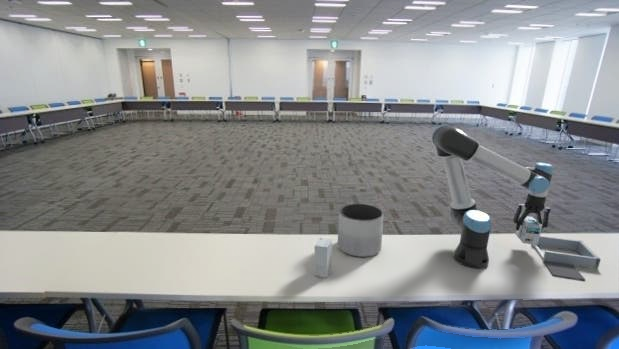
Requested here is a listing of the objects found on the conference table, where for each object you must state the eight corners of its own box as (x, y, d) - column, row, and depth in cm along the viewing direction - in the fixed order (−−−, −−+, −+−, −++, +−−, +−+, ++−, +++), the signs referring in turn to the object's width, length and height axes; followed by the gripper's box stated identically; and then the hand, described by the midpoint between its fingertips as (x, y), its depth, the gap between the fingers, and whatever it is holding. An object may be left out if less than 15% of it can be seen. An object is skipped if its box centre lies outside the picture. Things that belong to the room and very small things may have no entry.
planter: (373, 236, 180) (375, 202, 174) (387, 257, 159) (390, 219, 153) (333, 238, 177) (334, 204, 171) (343, 260, 156) (344, 221, 150)
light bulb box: (537, 245, 160) (543, 225, 157) (522, 243, 161) (527, 223, 158) (528, 235, 170) (533, 216, 167) (514, 233, 171) (519, 214, 168)
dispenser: (543, 261, 157) (546, 251, 156) (531, 243, 174) (533, 234, 172) (597, 268, 151) (600, 259, 149) (579, 249, 168) (581, 240, 166)
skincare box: (326, 278, 142) (327, 248, 138) (313, 276, 144) (314, 245, 139) (331, 268, 150) (332, 239, 145) (318, 266, 151) (319, 236, 147)
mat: (552, 275, 145) (553, 274, 145) (543, 261, 156) (543, 260, 156) (585, 280, 142) (585, 279, 142) (572, 266, 153) (573, 265, 153)
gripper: (516, 194, 158) (506, 237, 164) (564, 200, 152) (552, 244, 159) (511, 189, 165) (502, 231, 171) (558, 195, 159) (546, 237, 166)
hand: (526, 237), depth 165 cm, fingers closed on light bulb box, 7 cm apart
